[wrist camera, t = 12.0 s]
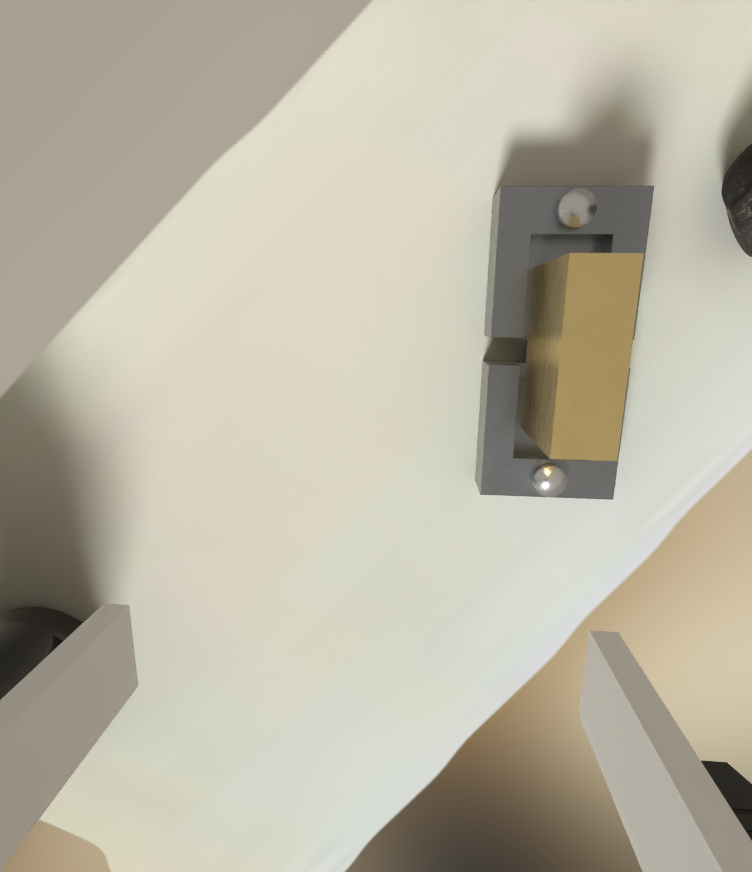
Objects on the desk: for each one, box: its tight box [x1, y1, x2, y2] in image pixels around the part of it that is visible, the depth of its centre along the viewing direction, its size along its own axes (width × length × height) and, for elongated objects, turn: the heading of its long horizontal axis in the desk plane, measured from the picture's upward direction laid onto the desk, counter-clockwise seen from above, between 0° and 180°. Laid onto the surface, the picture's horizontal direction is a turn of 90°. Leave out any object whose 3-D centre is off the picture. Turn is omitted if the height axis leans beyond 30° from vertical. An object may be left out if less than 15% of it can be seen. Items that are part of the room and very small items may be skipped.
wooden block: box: [521, 253, 644, 461], centre depth 34 cm, size 4×12×9 cm, turn 0°
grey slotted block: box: [475, 186, 654, 499], centre depth 38 cm, size 10×22×4 cm, turn 179°
